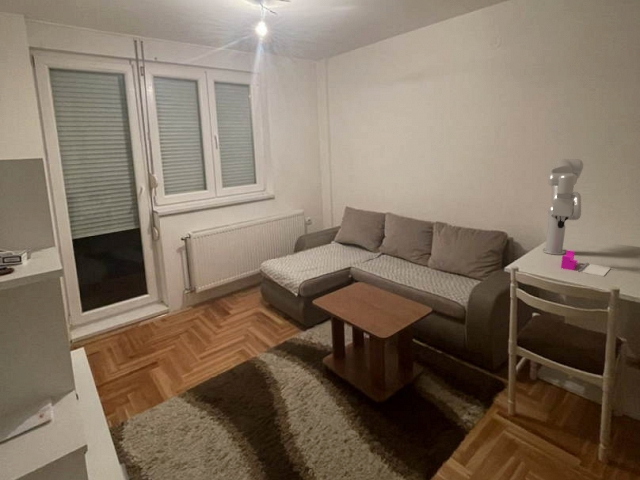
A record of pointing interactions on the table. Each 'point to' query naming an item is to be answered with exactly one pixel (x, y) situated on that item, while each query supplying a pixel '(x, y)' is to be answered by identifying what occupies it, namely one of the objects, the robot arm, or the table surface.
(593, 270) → the mat
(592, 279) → the table surface
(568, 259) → the toy block
